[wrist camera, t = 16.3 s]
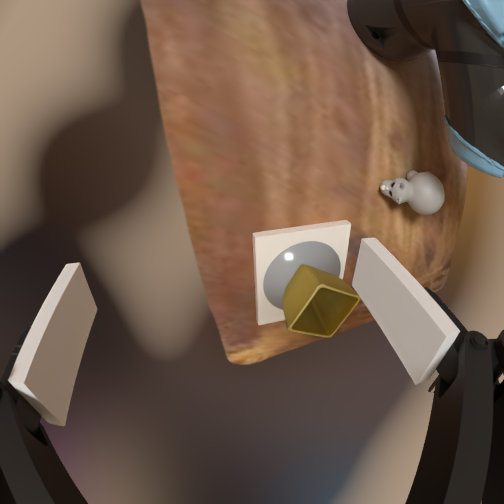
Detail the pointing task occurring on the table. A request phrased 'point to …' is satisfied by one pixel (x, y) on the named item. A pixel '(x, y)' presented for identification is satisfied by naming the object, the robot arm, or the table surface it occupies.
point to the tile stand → (294, 260)
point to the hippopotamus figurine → (416, 191)
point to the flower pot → (317, 302)
